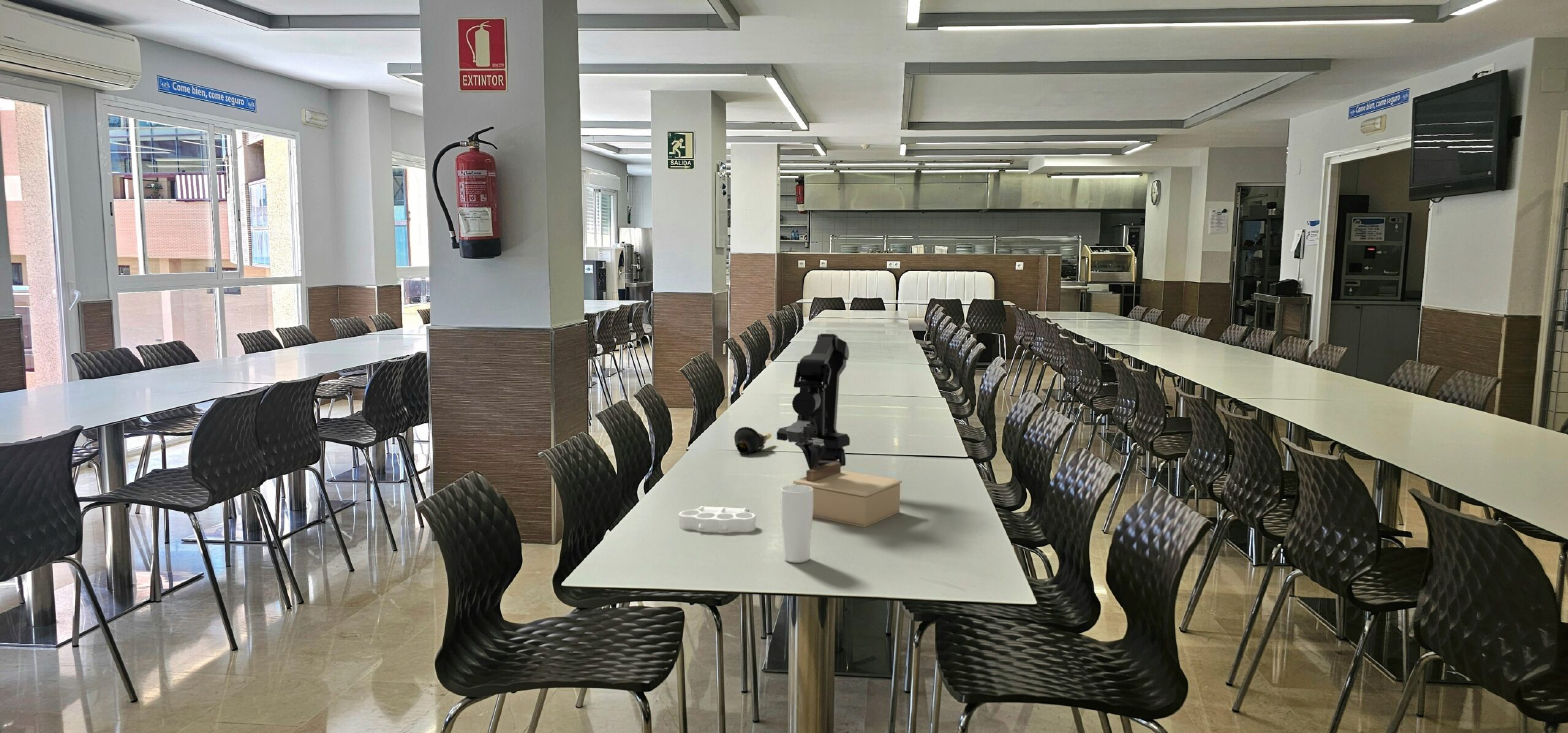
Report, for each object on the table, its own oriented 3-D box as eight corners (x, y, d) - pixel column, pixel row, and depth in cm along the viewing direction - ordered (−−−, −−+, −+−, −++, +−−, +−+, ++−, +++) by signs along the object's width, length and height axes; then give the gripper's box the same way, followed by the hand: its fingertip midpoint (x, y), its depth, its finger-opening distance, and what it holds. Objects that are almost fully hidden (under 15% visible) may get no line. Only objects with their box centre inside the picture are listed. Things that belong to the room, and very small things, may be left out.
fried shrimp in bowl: (723, 440, 291) (741, 413, 306) (740, 469, 294) (756, 441, 309) (748, 431, 287) (764, 405, 302) (764, 461, 290) (780, 433, 305)
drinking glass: (779, 554, 194) (779, 484, 193) (811, 554, 195) (811, 484, 193) (781, 565, 188) (781, 493, 186) (815, 564, 188) (815, 492, 186)
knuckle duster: (762, 519, 222) (750, 538, 207) (689, 516, 224) (672, 534, 210) (762, 505, 221) (750, 523, 207) (689, 502, 224) (672, 519, 210)
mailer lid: (793, 483, 225) (793, 470, 225) (831, 471, 238) (831, 459, 238) (865, 496, 213) (865, 483, 212) (901, 482, 226) (902, 470, 226)
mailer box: (794, 512, 226) (794, 484, 225) (831, 499, 239) (831, 472, 238) (864, 527, 214) (865, 497, 213) (899, 512, 227) (900, 484, 226)
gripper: (763, 409, 229) (763, 471, 231) (825, 417, 218) (824, 482, 220) (790, 403, 238) (789, 463, 240) (851, 411, 227) (850, 474, 228)
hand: (812, 470), depth 232 cm, fingers closed
